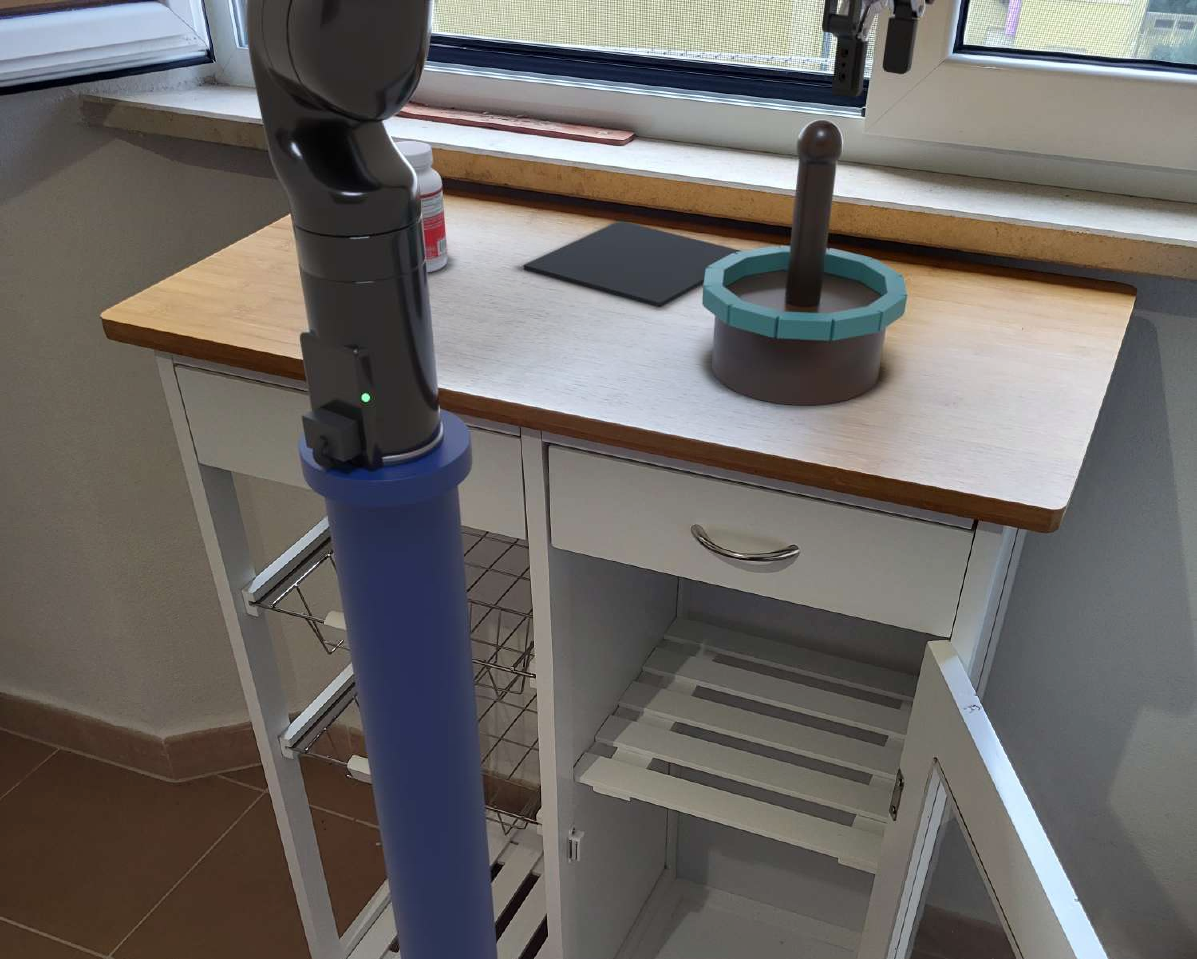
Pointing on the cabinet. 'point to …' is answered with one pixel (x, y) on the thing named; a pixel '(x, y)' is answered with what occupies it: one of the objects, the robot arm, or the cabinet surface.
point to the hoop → (799, 322)
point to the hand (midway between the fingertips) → (871, 83)
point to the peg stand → (802, 302)
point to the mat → (633, 262)
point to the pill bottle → (428, 201)
